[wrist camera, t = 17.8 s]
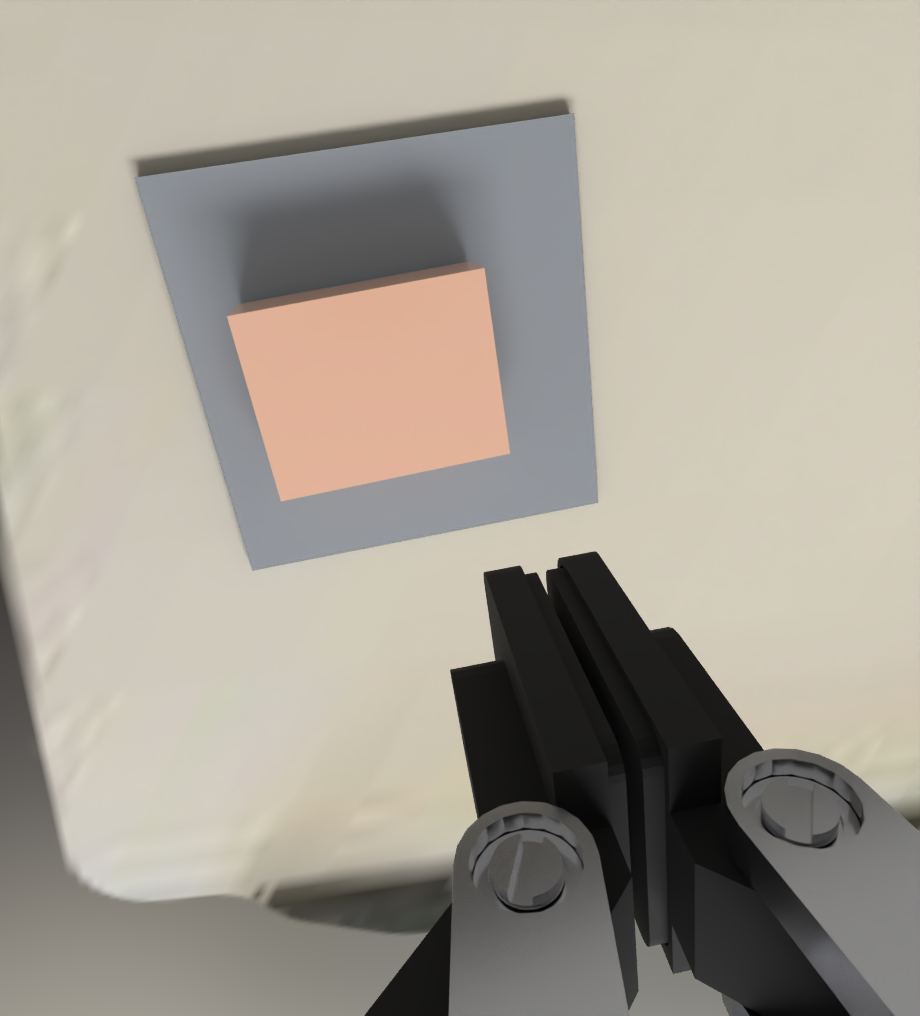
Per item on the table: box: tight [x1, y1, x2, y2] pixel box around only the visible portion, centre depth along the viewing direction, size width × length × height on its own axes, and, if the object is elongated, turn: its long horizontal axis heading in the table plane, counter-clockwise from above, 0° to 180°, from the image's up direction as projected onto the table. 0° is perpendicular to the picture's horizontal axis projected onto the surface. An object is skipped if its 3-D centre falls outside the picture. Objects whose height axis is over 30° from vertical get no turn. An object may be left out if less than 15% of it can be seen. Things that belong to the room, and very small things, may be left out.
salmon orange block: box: [227, 261, 510, 501], centre depth 27 cm, size 3×7×9 cm
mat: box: [135, 113, 598, 571], centre depth 29 cm, size 16×16×1 cm
